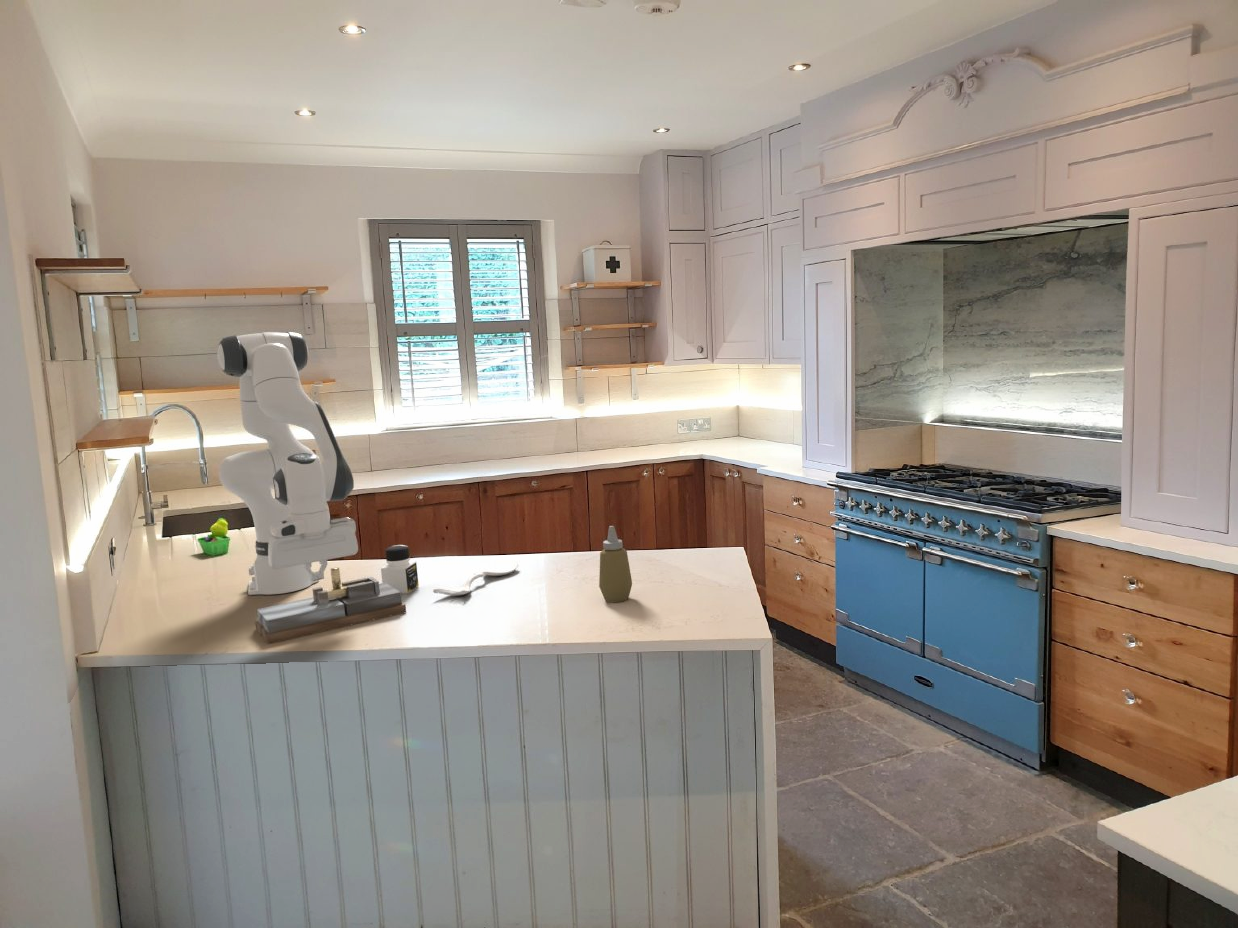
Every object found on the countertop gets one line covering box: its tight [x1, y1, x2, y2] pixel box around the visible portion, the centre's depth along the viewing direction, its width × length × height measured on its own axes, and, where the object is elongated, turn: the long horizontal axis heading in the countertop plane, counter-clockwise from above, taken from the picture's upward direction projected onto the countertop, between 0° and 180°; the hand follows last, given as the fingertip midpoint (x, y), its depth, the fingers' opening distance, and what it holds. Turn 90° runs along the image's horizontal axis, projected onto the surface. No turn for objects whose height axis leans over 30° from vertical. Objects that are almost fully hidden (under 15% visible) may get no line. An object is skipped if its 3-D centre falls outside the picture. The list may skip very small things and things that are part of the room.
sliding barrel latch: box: [254, 576, 407, 644], centre depth 214 cm, size 14×32×8 cm, turn 123°
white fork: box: [432, 560, 519, 596], centre depth 239 cm, size 9×32×4 cm, turn 157°
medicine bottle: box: [380, 544, 420, 595], centre depth 237 cm, size 7×7×12 cm
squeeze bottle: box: [598, 525, 633, 603], centre depth 215 cm, size 8×8×18 cm
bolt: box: [323, 566, 365, 600], centre depth 216 cm, size 2×10×7 cm, turn 123°
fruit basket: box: [197, 517, 231, 557], centre depth 303 cm, size 11×9×11 cm
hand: (317, 579), depth 212 cm, fingers closed
